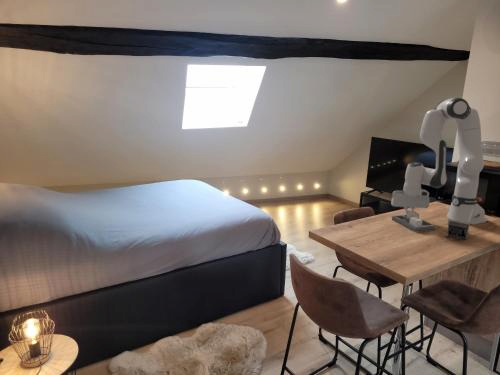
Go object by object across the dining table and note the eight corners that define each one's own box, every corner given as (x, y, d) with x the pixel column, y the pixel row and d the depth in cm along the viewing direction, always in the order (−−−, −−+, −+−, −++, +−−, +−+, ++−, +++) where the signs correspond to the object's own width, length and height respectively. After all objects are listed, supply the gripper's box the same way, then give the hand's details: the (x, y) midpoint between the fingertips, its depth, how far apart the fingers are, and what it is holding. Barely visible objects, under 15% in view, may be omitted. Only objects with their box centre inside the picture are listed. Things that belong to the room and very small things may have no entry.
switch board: (410, 218, 211) (410, 214, 211) (434, 230, 194) (435, 225, 193) (391, 219, 208) (392, 215, 207) (414, 231, 190) (415, 227, 190)
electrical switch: (467, 238, 183) (470, 221, 180) (466, 242, 179) (469, 225, 176) (446, 234, 188) (448, 218, 185) (445, 238, 184) (447, 221, 181)
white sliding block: (414, 224, 197) (416, 216, 196) (421, 228, 193) (422, 219, 192) (408, 225, 196) (410, 216, 195) (415, 228, 192) (416, 219, 190)
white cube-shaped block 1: (412, 218, 208) (413, 210, 206) (418, 221, 203) (419, 212, 202) (406, 218, 207) (407, 210, 205) (412, 221, 202) (414, 213, 201)
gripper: (394, 191, 202) (391, 215, 206) (432, 193, 201) (428, 216, 204) (391, 188, 208) (388, 211, 212) (427, 190, 207) (424, 213, 210)
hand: (408, 214), depth 208 cm, fingers closed
